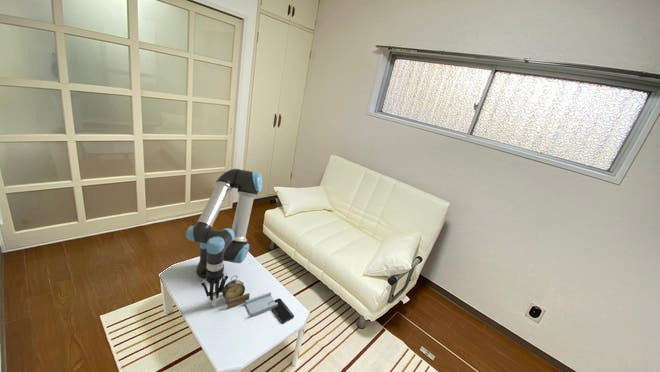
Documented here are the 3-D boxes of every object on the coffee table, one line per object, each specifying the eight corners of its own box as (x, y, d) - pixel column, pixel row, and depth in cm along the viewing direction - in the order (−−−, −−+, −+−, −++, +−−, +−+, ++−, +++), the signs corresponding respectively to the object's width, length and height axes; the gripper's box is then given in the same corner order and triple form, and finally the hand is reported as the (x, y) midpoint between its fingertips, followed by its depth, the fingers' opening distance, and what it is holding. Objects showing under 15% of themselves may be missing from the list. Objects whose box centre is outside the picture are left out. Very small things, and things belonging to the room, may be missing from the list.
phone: (279, 297, 150) (294, 316, 140) (279, 299, 150) (294, 317, 140) (267, 303, 144) (282, 323, 135) (267, 305, 145) (281, 324, 135)
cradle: (245, 304, 142) (245, 300, 141) (270, 295, 151) (270, 291, 150) (251, 317, 135) (252, 313, 135) (277, 307, 144) (277, 303, 143)
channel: (222, 295, 145) (222, 288, 143) (242, 288, 152) (242, 281, 150) (228, 308, 138) (228, 301, 136) (249, 301, 144) (249, 294, 142)
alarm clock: (224, 306, 138) (225, 282, 133) (220, 299, 142) (221, 275, 136) (244, 299, 145) (246, 275, 139) (240, 292, 149) (242, 269, 143)
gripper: (202, 275, 122) (201, 313, 131) (231, 268, 130) (228, 304, 138) (198, 265, 127) (198, 303, 136) (226, 259, 135) (224, 294, 144)
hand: (213, 303), depth 137 cm, fingers closed
